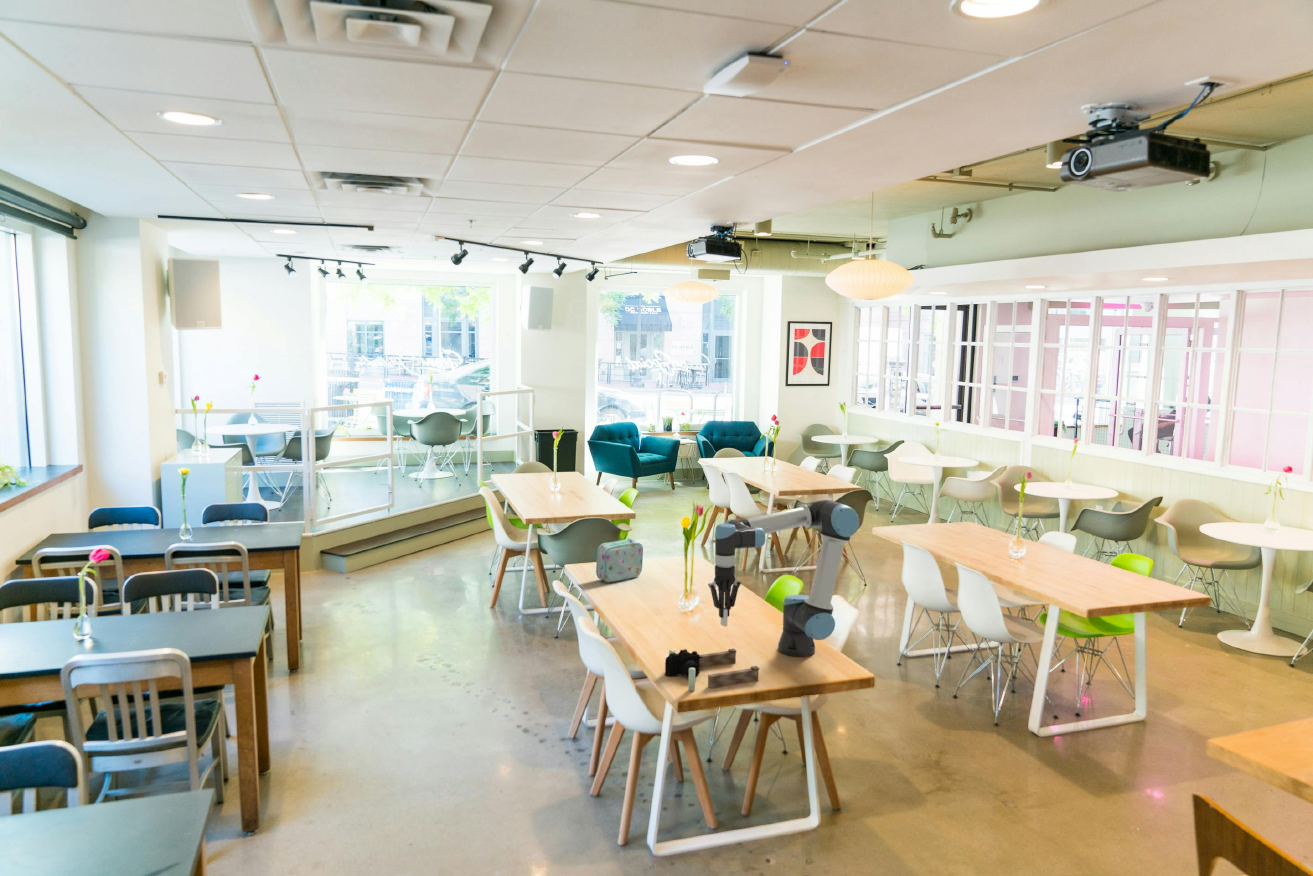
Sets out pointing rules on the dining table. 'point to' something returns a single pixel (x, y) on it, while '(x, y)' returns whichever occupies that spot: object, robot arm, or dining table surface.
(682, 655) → the film camera
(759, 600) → the dining table surface
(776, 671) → the dining table surface
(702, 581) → the dining table surface
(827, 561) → the robot arm
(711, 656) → the chute
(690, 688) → the posts
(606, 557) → the lunch box
